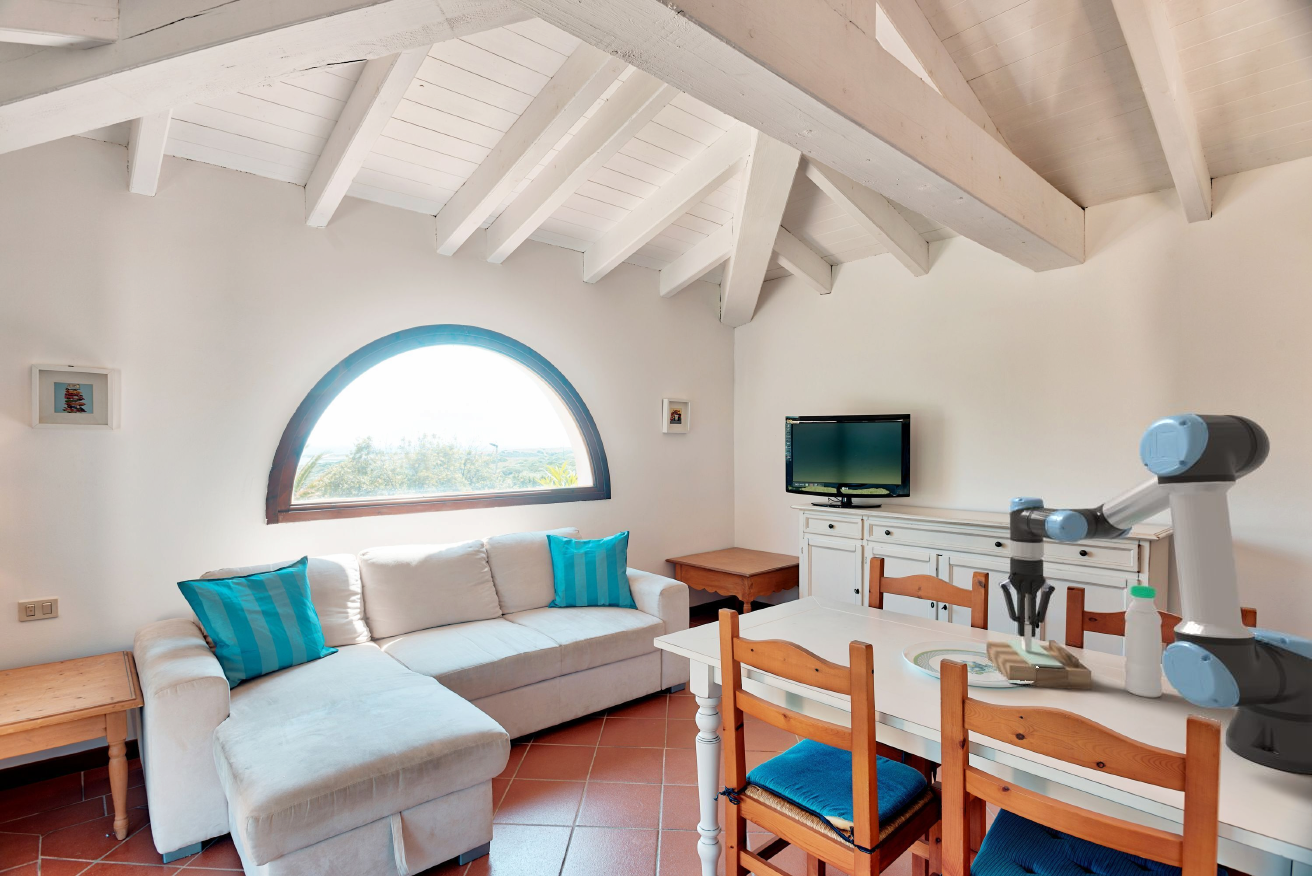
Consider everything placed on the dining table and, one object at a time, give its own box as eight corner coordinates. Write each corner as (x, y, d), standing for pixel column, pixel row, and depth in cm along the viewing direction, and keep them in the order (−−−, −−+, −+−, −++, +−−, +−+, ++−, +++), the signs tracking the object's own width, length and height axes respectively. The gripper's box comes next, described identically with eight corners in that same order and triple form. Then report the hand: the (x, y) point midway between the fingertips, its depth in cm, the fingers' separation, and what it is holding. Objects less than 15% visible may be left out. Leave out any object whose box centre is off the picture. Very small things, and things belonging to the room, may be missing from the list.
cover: (1064, 669, 161) (1064, 665, 161) (1031, 667, 162) (1031, 663, 162) (1036, 646, 179) (1036, 642, 179) (1006, 644, 181) (1006, 640, 181)
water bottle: (1168, 699, 152) (1168, 590, 153) (1133, 697, 154) (1133, 589, 154) (1152, 688, 159) (1151, 584, 160) (1119, 686, 161) (1118, 583, 161)
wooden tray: (1092, 690, 158) (1092, 663, 158) (1010, 684, 162) (1010, 658, 162) (1058, 661, 179) (1058, 638, 179) (985, 656, 183) (985, 634, 183)
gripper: (1048, 555, 173) (1048, 646, 173) (994, 554, 176) (994, 643, 176) (1060, 561, 166) (1060, 655, 166) (1003, 559, 169) (1003, 652, 169)
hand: (1026, 649), depth 171 cm, fingers closed
